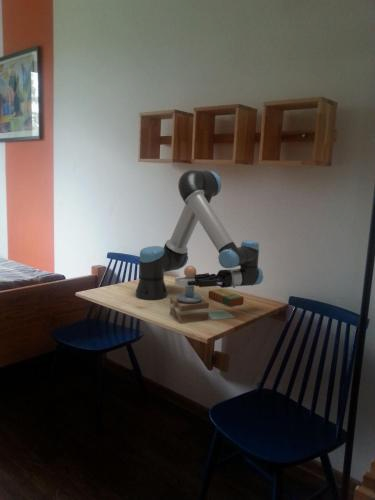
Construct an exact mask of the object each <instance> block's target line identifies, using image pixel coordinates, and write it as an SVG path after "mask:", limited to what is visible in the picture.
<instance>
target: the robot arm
mask: <svg viewBox="0 0 375 500" xmlns="http://www.w3.org/2000/svg"><path fill="white" fill-rule="evenodd" d="M221 189H222V182H221V178H220V176H219V175H218V174H217V173H216V172H215V171H212V170H206V169H205V170H197V169H196V170H195V169H191V170H190V169H189V170H186V171H185V172H183V174H181V176H180V177H179V180H178V192H179V195H180V197H181V199H182V201H183V202H184V207H183V209H182V211H181V214H180V216H179V217H178V221H177V223H176V225H175V228H174V229H173V232H172V234H171V238H169V239H166V241H165V243H164V245H163V246H160V245H154V246H147V247H143V248H141V249H140V251H139V259H138V260H139V280H138V284H137V287H136V290H135V297H136V298H138V299H140V300H141V299H142V300H147V301H153V300H154V301H155V300H162V299H165V298H167V297H168V289H167V285H166V283H165V279H164V278H165V273H167V272H171V271H177V270H180V269H182V268H184V267H186V265H187V264H188V261H189V256H188V255H189V253H188V246H187V245H188V243H189V242H190V239H191V237H192V235H193V232H194V230H195V227H196V226H197V224H198V221H199V223H200V226H202V228H203V230H204V231H205V233H206V235H207V236H208V238H209V240H210V241H211V242H212V244H213V246H214V247H215V248H216V250H217V252H218V258H217V260H218V264H220V266H221V267H222V268H225V269H221V270H218V272H217V274H216V273H211V274H210V273H209V272H206V273H196V275H195V277H194V279H187V280H186V276H181V277H180V276H179V277H178V276H176V277H175V279H174V284H175V285H178V287H179V288H185V287H187V286H194V287H198V288H209V287H219V288H220V289H223V288H234V289H235V288H236V287H245V286H246V287H247V286H249V287H250V286H256V285H260V284H261V283H262V282H263V281H264V274H263V273H264V272H263V270H262V269H261V268H260V267H258V266H259V256H260V255H259V254H260V253H259V252H260V243H259V242H258V241H256V240H247V239H245V240H242V242H241V244H240V247H239V246H237V244H236V243H235V242H234V240H233V239H232V237H231V235H230V234H229V232H228V231H227V229H226V227H225V226H224V225H223V223H222V221H221V219H220V218H219V217H218V215H217V213H216V212H215V210H214V209H213V207H212V206H211V204H210V202H211V201H212V198H213V197H217V195H219V193H220V192H221ZM236 267H240V268H236Z"/></svg>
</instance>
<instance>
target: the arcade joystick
mask: <svg viewBox="0 0 375 500" xmlns="http://www.w3.org/2000/svg"><path fill="white" fill-rule="evenodd" d="M183 273H184V275H185V276H184V277H186V280H187V279H194V277H195V275H196V274H197V269H196V267H195V266H193V265H187V266H185V268H184V271H183ZM184 290H185V291H184V292H183V293H179V294H177V295H176V297H177V300H178V301H181V302H186V303H195V302H199V301H201V300H202V299H203V297H202V295H201V294H198V293H195V286H187V287H184Z"/></svg>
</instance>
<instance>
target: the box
mask: <svg viewBox="0 0 375 500" xmlns="http://www.w3.org/2000/svg"><path fill="white" fill-rule="evenodd" d="M169 307H170V308H169V314H170V315H171V316H172V317H173V318H174V319H175V320H176V321H178V323H180V324H186V323H194V322H195V323H196V322H203V321H204V322H205V321H209V319H210V318H209V311H210V303H209V302H208V301H206V300H205V299H204V298H202V300H201V301H199V302H195V303H186V302H181V301H178V300H177V296H175V297H170V302H169Z"/></svg>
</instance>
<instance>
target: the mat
mask: <svg viewBox="0 0 375 500" xmlns="http://www.w3.org/2000/svg"><path fill="white" fill-rule="evenodd" d="M208 319H210V320H212V321H218V320H226V319H235V315H233V314H231V313H229V312H228V311H226V310H225V309H217V310H209V318H208Z"/></svg>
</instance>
